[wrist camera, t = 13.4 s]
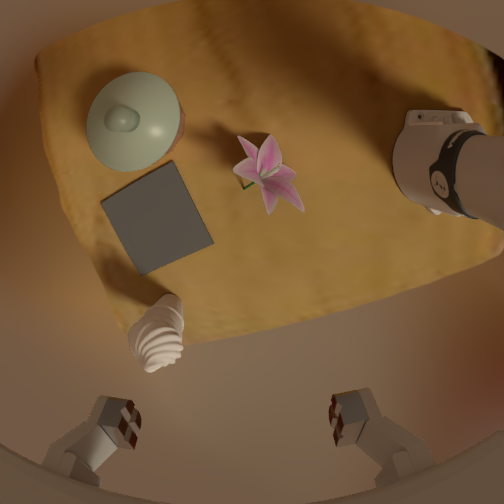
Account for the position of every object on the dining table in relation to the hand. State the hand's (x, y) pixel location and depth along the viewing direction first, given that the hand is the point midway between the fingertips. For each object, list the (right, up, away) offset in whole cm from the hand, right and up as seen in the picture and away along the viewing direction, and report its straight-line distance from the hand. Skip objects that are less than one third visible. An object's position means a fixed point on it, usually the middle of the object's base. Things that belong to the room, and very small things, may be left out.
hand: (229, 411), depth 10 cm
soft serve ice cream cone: (-13, -3, +38) cm, 40 cm away
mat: (-14, +11, +32) cm, 37 cm away
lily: (+3, +18, +30) cm, 35 cm away
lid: (-14, +23, +20) cm, 33 cm away
